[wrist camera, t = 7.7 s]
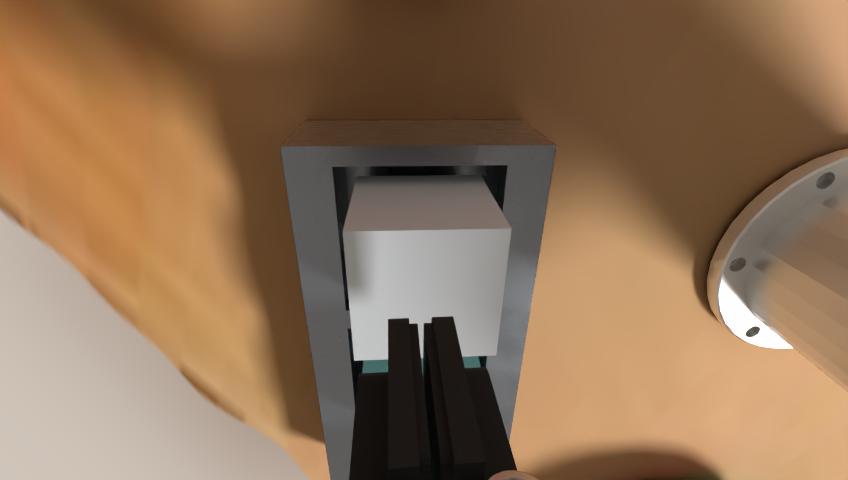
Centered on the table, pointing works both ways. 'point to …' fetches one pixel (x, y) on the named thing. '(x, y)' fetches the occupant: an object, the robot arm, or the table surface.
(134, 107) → the table surface
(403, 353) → the robot arm
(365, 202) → the grey key
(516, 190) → the console
